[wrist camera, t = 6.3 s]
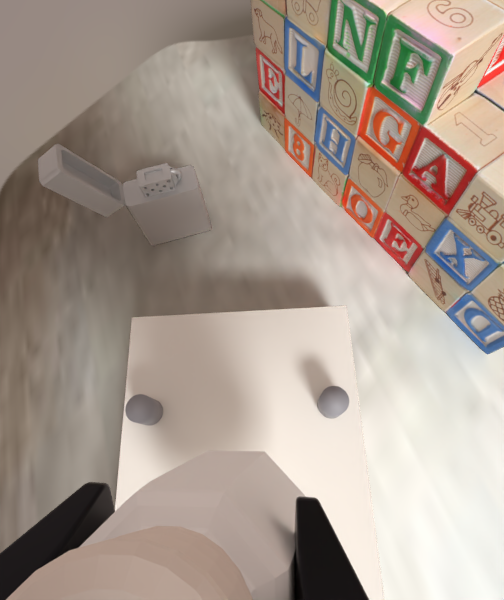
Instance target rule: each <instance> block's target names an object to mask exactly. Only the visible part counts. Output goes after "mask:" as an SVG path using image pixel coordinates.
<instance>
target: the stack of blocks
mask: <svg viewBox="0 0 504 600" xmlns="http://www.w3.org/2000/svg"><path fill="white" fill-rule="evenodd" d="M251 6H252V7H251V13H252V22H253V36H254V43H255V45H256V61H257V70H258V81H259V89H260V90H259V93H258V95H259V106H260V115H261V124H262V126H263V127H264V128H265V129H266V130H267V131H268V132H269V133H270V134H271V135H272V136H273V137H274V138H275V139H276V141H277V142H278V143H279V144H280V145H281V146H282V147H283V148H284V149H285V151H286V152H287V153H288V155H289V156H290V157H291V158H292V159H293V160H294V161H295V162H296V163H297V164H298V165H299V166H300V167H301V168H302V169H303V170H304V171H305V172H306V173H307V174H308V175H309V176H310V177H311V178H312V179H313V180H314V181H315V182H316V183H317V185H318V186H319V187H320V188H321V189H322V190H323V191H324V192H325V193H326V194H327V195H328V196H329V197H330V198H331V199H332V200H333V201H334V202H335V203H336V204H337V205H338V206H339V207H342V208H344V209H345V211H346V212H347V213H348V214H349V215H350V216H351V217H352V218H353V219H355V221H356V222H357V223H358V224H359V225H360V226H361V227H362V228H363V229H364V230H365V231H366V232H367V233H368V234H369V235H370V236H371V237H372V238H375V239H376V241H377V242H378V243H379V244H380V245H381V246H382V247H383V248H384V249H385V250H386V251H387V252H388V253H389V254H390V255H391V256H392V257H393V258H394V259H395V260H396V261H397V263H398V264H400V265H401V266H402V267H403V269H405V270H406V271H408V275H409V277H410V278H411V279H412V280H413V281H414V282H415V283H416V284H417V285H418V286H419V287H420V288H421V289H422V290H423V291H424V292H425V293H426V294H427V295H428V296H429V297H430V298H431V299H432V300H433V301H434V302H435V303H436V304H437V305H438V306H439V307H440V308H441V309H442V310H443V311H444V312H446V313H447V314H448V316H449V317H450V318H451V319H452V320H453V321H454V322H455V323H456V324H457V325H458V326H459V327H460V328H461V329H462V330H463V331H464V332H465V333H466V334H467V335H468V336H469V337H470V338H471V339H472V340H473V341H474V342H475V343H476V344H477V345H478V346H479V347H480V348H481V349H482V350H483V351H484V352H485V353H486V354H490V353H492V352H494V351H497V350H499V349H501V348H503V347H504V0H251Z"/></svg>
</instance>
